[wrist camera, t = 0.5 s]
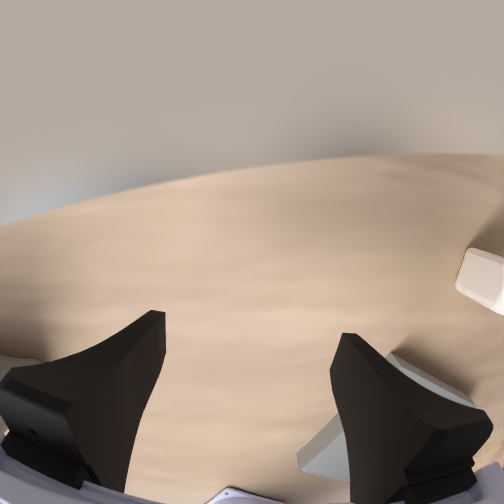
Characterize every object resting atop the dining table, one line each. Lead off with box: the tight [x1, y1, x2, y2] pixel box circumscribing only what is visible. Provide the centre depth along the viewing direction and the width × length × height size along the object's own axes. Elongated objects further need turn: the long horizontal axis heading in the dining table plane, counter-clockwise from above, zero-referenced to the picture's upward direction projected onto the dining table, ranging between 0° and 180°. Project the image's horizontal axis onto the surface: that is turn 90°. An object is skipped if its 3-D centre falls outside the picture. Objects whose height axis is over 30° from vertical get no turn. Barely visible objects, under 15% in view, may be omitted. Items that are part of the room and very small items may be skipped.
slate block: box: [297, 352, 477, 483], centre depth 24 cm, size 14×14×3 cm
